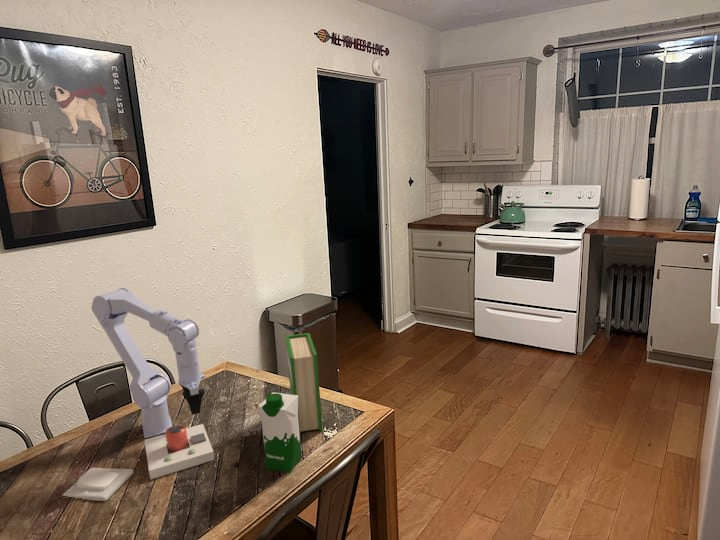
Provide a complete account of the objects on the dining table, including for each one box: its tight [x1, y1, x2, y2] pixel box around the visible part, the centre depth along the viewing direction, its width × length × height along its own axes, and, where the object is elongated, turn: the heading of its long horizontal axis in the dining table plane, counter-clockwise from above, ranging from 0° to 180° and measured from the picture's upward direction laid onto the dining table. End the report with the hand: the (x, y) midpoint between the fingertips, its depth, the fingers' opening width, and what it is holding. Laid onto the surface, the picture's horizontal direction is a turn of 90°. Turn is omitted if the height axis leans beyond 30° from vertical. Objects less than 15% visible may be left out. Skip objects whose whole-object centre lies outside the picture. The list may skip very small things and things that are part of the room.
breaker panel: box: [144, 423, 215, 480], centre depth 134 cm, size 16×16×3 cm
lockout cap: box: [165, 423, 188, 452], centre depth 134 cm, size 5×5×5 cm
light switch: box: [62, 467, 135, 502], centre depth 123 cm, size 11×4×13 cm
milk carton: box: [257, 392, 303, 474], centre depth 126 cm, size 9×9×20 cm
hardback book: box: [285, 332, 324, 436], centre depth 147 cm, size 18×7×24 cm, turn 13°
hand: (194, 407), depth 140 cm, fingers open, 7 cm apart
